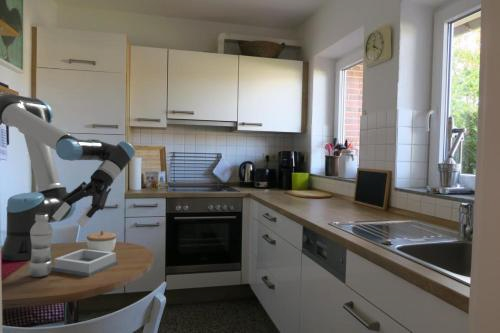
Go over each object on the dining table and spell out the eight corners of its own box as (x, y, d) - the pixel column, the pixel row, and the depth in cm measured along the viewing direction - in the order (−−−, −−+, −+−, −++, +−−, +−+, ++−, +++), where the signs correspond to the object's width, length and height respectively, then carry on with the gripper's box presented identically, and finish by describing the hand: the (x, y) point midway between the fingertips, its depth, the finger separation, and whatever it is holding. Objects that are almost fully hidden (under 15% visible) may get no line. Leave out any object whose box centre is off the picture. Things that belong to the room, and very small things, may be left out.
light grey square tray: (51, 270, 119) (51, 259, 119) (83, 258, 133) (83, 248, 133) (89, 276, 115) (89, 264, 115) (117, 263, 129) (117, 252, 129)
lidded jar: (95, 260, 132) (96, 235, 132) (81, 254, 138) (81, 230, 138) (121, 254, 140) (121, 231, 140) (106, 249, 147) (107, 227, 147)
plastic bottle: (48, 270, 118) (50, 212, 118) (54, 276, 114) (55, 215, 113) (26, 274, 114) (27, 213, 113) (31, 280, 109) (32, 217, 108)
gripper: (134, 184, 128) (98, 233, 115) (89, 179, 140) (52, 223, 128) (122, 170, 123) (83, 219, 111) (77, 166, 135) (38, 210, 123)
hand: (67, 221), depth 119 cm, fingers open, 13 cm apart
